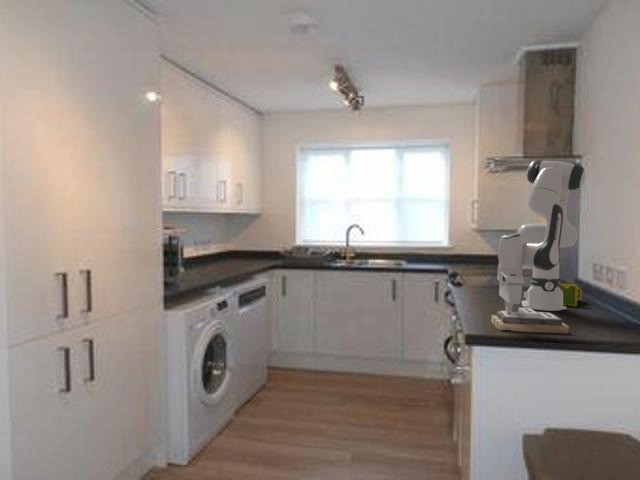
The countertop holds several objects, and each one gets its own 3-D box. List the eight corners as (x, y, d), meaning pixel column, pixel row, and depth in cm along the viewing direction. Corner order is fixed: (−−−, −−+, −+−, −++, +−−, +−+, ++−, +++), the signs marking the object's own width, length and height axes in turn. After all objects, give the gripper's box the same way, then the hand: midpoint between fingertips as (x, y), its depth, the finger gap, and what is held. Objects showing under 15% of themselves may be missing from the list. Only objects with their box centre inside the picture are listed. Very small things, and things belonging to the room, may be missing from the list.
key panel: (490, 321, 198) (491, 310, 198) (554, 323, 194) (554, 312, 194) (499, 330, 182) (499, 318, 182) (568, 333, 179) (568, 321, 178)
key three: (537, 317, 193) (537, 311, 193) (548, 317, 192) (549, 312, 192) (545, 323, 182) (545, 317, 182) (558, 323, 181) (558, 317, 181)
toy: (572, 281, 262) (586, 285, 233) (572, 301, 261) (585, 307, 233) (538, 280, 266) (547, 283, 237) (537, 299, 266) (546, 304, 237)
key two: (518, 312, 194) (518, 307, 194) (530, 313, 193) (530, 307, 193) (525, 318, 183) (525, 312, 183) (538, 319, 182) (538, 313, 182)
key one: (499, 315, 195) (499, 310, 195) (511, 316, 194) (511, 310, 194) (505, 321, 184) (506, 315, 184) (518, 322, 183) (518, 316, 183)
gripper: (495, 272, 199) (494, 306, 200) (506, 279, 179) (505, 317, 180) (512, 273, 198) (510, 307, 199) (525, 279, 178) (523, 317, 179)
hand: (508, 312), depth 189 cm, fingers closed
